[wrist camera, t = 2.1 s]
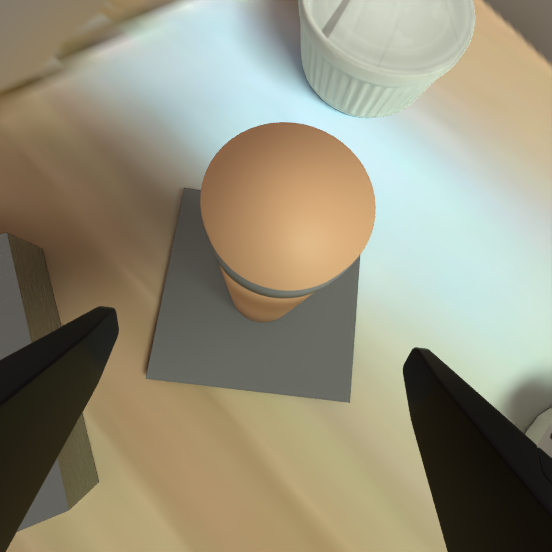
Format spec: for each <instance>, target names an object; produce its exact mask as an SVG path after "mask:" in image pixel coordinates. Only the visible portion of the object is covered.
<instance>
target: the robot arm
mask: <svg viewBox="0 0 552 552" xmlns="http://www.w3.org/2000/svg"><path fill="white" fill-rule="evenodd" d="M118 332H119V327H118V321H117V315H116V310H115V309H114V308H112V307H104V306H99V307H97V308H95V309H93V310H91V311H89V312H87V313H86V314H84V315H82V316H80V317H78V318H76V319H75V320H73V321H71V322H69V323H67V324H65V325H63V326H62V327H60V328H58V329H56V330H54V331H52V332H51V333H49V334H47V335H45V336H43V337H41V338H40V339H38V340H36V341H34V342H32V343H30V344H29V345H27V346H25V347H23V348H21V349H19V350H17V351H16V352H14V353H12V354H10V355H8V356H6V357H5V358H3V359H1V360H0V552H6V550H7V548H8V547H9V545H10V543H11V541H12V539H13V538H14V536H15V534H16V532H17V530H18V528H19V527H20V525H21V523H22V521H23V519H24V518H25V516H26V514H27V512H28V510H29V508H30V507H31V505H32V503H33V501H34V499H35V498H36V496H37V494H38V492H39V490H40V488H41V487H42V485H43V483H44V481H45V479H46V478H47V476H48V474H49V472H50V470H51V468H52V467H53V465H54V463H55V461H56V459H57V458H58V456H59V454H60V452H61V450H62V448H63V447H64V445H65V443H66V441H67V439H68V438H69V436H70V434H71V432H72V430H73V428H74V427H75V425H76V423H77V421H78V419H79V417H80V416H81V414H82V412H83V410H84V408H85V407H86V405H87V403H88V401H89V399H90V397H91V396H92V394H93V392H94V390H95V388H96V386H97V384H98V382H99V380H100V378H101V376H102V373H103V371H104V368H105V366H106V363H107V361H108V358H109V356H110V354H111V351H112V349H113V346H114V344H115V341H116V339H117V336H118ZM403 376H404V382H405V388H406V394H407V400H408V406H409V412H410V417H411V421H412V425H413V429H414V433H415V436H416V440H417V443H418V447H419V451H420V454H421V458H422V461H423V465H424V469H425V472H426V476H427V479H428V483H429V486H430V490H431V494H432V497H433V501H434V504H435V508H436V512H437V515H438V519H439V522H440V526H441V530H442V533H443V537H444V540H445V544H446V548H447V551H448V552H552V458H551V457H550V456H549V455H548V454H547V453H546V452H544V451H543V450H542V449H541V448H539V447H537V445H536V444H535V443H534V442H533V441H532V440H531V439H530V438H528V437H527V436H526V435H525V434H524V433H523V432H522V431H521V430H519V429H518V428H517V427H516V426H515V425H514V424H513V423H511V422H510V421H509V420H508V419H507V418H506V417H505V416H504V415H502V414H501V413H500V412H499V411H498V410H497V409H496V408H495V407H493V406H492V405H491V404H490V403H489V402H488V401H487V400H485V399H484V398H483V397H482V396H481V395H480V394H479V393H478V392H476V391H475V390H474V389H473V388H472V387H471V386H470V385H468V384H467V383H466V382H465V381H464V380H463V379H462V378H461V377H459V376H458V375H457V374H456V373H455V372H454V371H453V370H452V369H450V368H449V367H448V366H447V365H446V364H445V363H444V362H442V361H441V360H440V359H439V358H438V357H437V356H436V355H435V354H433V353H432V352H431V351H430V350H428V349H426V348H418V347H416V348H413V349H412V351H411V353H410V354H409V356H408V358H407V360H406V362H405V363H404V366H403Z"/></svg>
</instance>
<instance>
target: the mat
mask: <svg viewBox="0 0 552 552" xmlns="http://www.w3.org/2000/svg"><path fill="white" fill-rule="evenodd" d="M200 197H201V190H194V189H188V188H184V192H183V197H182V202H181V206H180V211H179V216H178V221H177V226H176V231H175V236H174V241H173V246H172V251H171V256H170V261H169V266H168V271H167V276H166V281H165V286H164V291H163V296H162V301H161V306H160V311H159V316H158V321H157V326H156V331H155V336H154V340H153V345H152V350H151V355H150V360H149V365H148V370H147V375H146V379H153V380H161V381H170V382H178V383H187V384H195V385H204V386H212V387H221V388H229V389H238V390H246V391H255V392H263V393H272V394H281V395H289V396H298V397H306V398H315V399H323V400H332V401H340V402H349V403H350V394H351V379H352V365H353V350H354V336H355V322H356V307H357V293H358V279H359V264H360V255H359V257H358V258H357V259H356V260H355V261H354V263H353V264H352V265H351V266H350V267H349V268H348V269H347V270H346V271H345V272H344V273H343V274H342V275H340V276H339V277H338V278H337V279H335V280H334V281H332V282H331V283H330V284H328V285H327V286H325V287H324V288H322V289H320V290H318V291H316V292H314V293H313V294H312V295H310V296H309V297H308V298H306V299H305V300H304V301H302V302H301V303H300V304H298V305H297V306H296V307H294V308H293V309H292V310H290V311H289V312H288V313H286V314H285V315H283V316H282V317H281V318H279V319H277V320H275V321H272V322H266V323H260V322H255V321H252V320H249V319H247V318H246V317H244V316H243V315H242V314H241V313H240V312H239V311H238V310H237V309H236V307H235V305H234V303H233V301H232V298H231V295H230V293H229V290H228V287H227V285H226V282H225V279H224V277H223V274H222V271H221V269H220V266H219V264H218V262H217V260H216V259H215V257H214V255H213V252H212V250H211V248H210V245H209V243H208V240H207V238H206V235H205V232H204V228H203V224H202V215H201V206H200Z"/></svg>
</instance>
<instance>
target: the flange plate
mask: <svg viewBox="0 0 552 552" xmlns="http://www.w3.org/2000/svg"><path fill="white" fill-rule="evenodd" d="M60 327H61V324H60V320H59V316H58V311H57V307H56V303H55V299H54V295H53V291H52V287H51V283H50V278H49V274H48V270H47V266H46V262H45V258H44V254H43V250H42V248H39V247H37V246H35V245H33V244H31V243H29V242H26V241H24V240H22V239H20V238H18V237H15V236H13V235H11V234H9V233H3V234H0V360H1V359H3V358H5V357H6V356H8V355H10V354H12V353H14V352H16V351H17V350H19V349H21V348H23V347H25V346H27V345H29V344H30V343H32V342H34V341H36V340H38V339H40V338H41V337H43V336H45V335H47V334H49V333H51V332H52V331H54V330H56V329H58V328H60ZM97 483H99V481H98V476H97V472H96V468H95V464H94V460H93V456H92V452H91V448H90V443H89V439H88V435H87V431H86V427H85V423H84V419H83V415H82V414H81V416H80V417H79V419H78V421H77V423H76V425H75V427H74V428H73V430H72V432H71V434H70V436H69V438H68V439H67V441H66V443H65V445H64V447H63V448H62V450H61V452H60V454H59V456H58V458H57V459H56V461H55V463H54V465H53V467H52V468H51V470H50V472H49V474H48V476H47V478H46V479H45V481H44V483H43V485H42V487H41V488H40V490H39V492H38V494H37V496H36V498H35V499H34V501H33V503H32V505H31V507H30V508H29V510H28V512H27V514H26V516H25V518H24V519H23V521H22V523H21V525H20V527H19V528H18V530H17V532H18V531H20V530H23V529H25V528H27V527H30V526H32V525H35V524H37V523H39V522H42V521H44V520H47V519H49V518H52V517H54V516H56V515H59V514H61V513H64V512H66V511H69V510H70V509H71V508H72V507H73V506H74V505H75V504H76V503H77V502H78V501H79V500H81V499H82V498H83V497H84V496H85V495H86V494H87V493H88V492H89V491H90V490H91V489H92V488H93V487H94V486H95V485H96V484H97Z"/></svg>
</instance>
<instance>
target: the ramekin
mask: <svg viewBox="0 0 552 552" xmlns="http://www.w3.org/2000/svg"><path fill="white" fill-rule="evenodd" d="M298 9H299V15H300V20H301V60H302V65H303V70H304V73H305V76H306V78H307V80H308V81H309V84H310V85H311V87H312V88H313V89H314V91H315V92H316V93H317V94H318V96H319V97H320V98H321V99H322V100H324V101H325V102H326V103H327V104H329V105H330V106H331V107H333V108H335V109H337V110H338V111H340V112H343V113H345V114H348V115H352V116H355V117H361V118H377V117H385V116H389V115H392V114H395V113H398V112H400V111H401V110H403V109H405V108H407V107H408V106H409V105H410V104H412V103H413V102H414V101H415V100H416V99H417V98H418V97H419V96H420V95H421V94H422V93H423V92H424V91H425V90H426V89H427V88H428V87H429V86H430V85H431V84H432V83H433V82H434V81H435V80H436V79H437V78H439V77H441V76H442V75H444V74H445V73H446V72H447V71H449V70H450V69H451V68H452V67H453V66H454V65H455V64H456V63H457V61H458V60H459V59H460V58H461V56H462V55H463V53H464V52H465V50H466V49H467V47H468V45H469V43H470V42H471V39H472V36H473V32H474V27H475V11H474V10H475V7H474V2H473V0H298Z"/></svg>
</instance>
